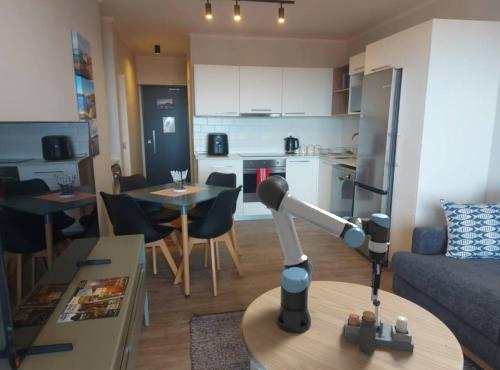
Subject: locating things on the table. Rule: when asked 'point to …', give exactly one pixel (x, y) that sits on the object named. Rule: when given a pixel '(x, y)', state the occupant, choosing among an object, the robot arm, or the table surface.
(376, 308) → the lever
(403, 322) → the button ivory
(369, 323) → the bottle
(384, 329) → the panel
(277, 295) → the table surface
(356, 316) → the button terracotta
